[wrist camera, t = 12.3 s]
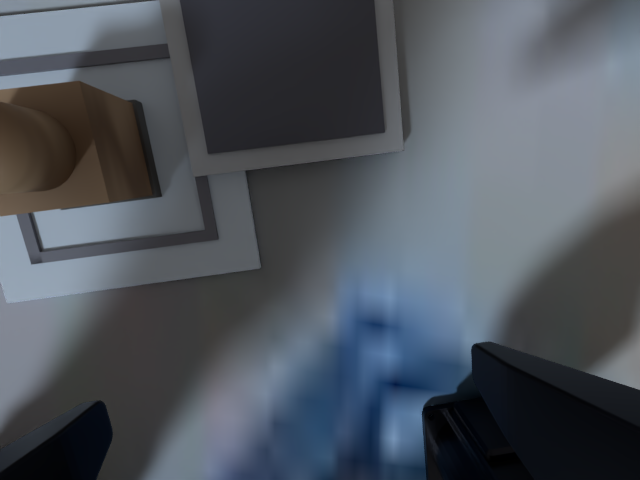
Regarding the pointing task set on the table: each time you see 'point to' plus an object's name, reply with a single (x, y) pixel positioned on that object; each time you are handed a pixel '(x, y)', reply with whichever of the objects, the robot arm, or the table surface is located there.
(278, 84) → the ink pad
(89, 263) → the board
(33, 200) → the stamp
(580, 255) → the table surface
